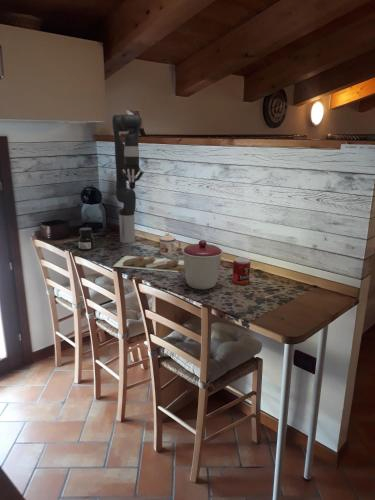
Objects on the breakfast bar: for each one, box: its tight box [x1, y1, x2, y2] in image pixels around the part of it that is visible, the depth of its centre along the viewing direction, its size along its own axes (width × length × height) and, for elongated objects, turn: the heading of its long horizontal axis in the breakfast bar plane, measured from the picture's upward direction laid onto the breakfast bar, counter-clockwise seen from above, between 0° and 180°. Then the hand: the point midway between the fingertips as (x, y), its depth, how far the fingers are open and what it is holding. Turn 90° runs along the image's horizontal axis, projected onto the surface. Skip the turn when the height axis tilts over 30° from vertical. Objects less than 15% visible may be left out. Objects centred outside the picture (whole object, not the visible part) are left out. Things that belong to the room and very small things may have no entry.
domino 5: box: [169, 264, 185, 273], centre depth 194 cm, size 5×2×10 cm
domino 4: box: [157, 258, 179, 269], centre depth 194 cm, size 5×2×10 cm
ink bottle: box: [77, 227, 95, 252], centre depth 225 cm, size 10×9×12 cm
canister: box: [181, 239, 224, 290], centre depth 172 cm, size 18×18×21 cm
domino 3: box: [146, 257, 168, 268], centre depth 196 cm, size 5×2×10 cm
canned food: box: [232, 256, 251, 286], centre depth 179 cm, size 8×8×11 cm
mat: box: [113, 255, 184, 273], centre depth 202 cm, size 18×34×1 cm, turn 78°
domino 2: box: [134, 256, 156, 267], centre depth 197 cm, size 5×2×10 cm
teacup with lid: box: [159, 233, 178, 256], centre depth 219 cm, size 12×9×12 cm
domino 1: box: [123, 255, 145, 266], centre depth 198 cm, size 5×2×10 cm
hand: (132, 189), depth 205 cm, fingers closed
